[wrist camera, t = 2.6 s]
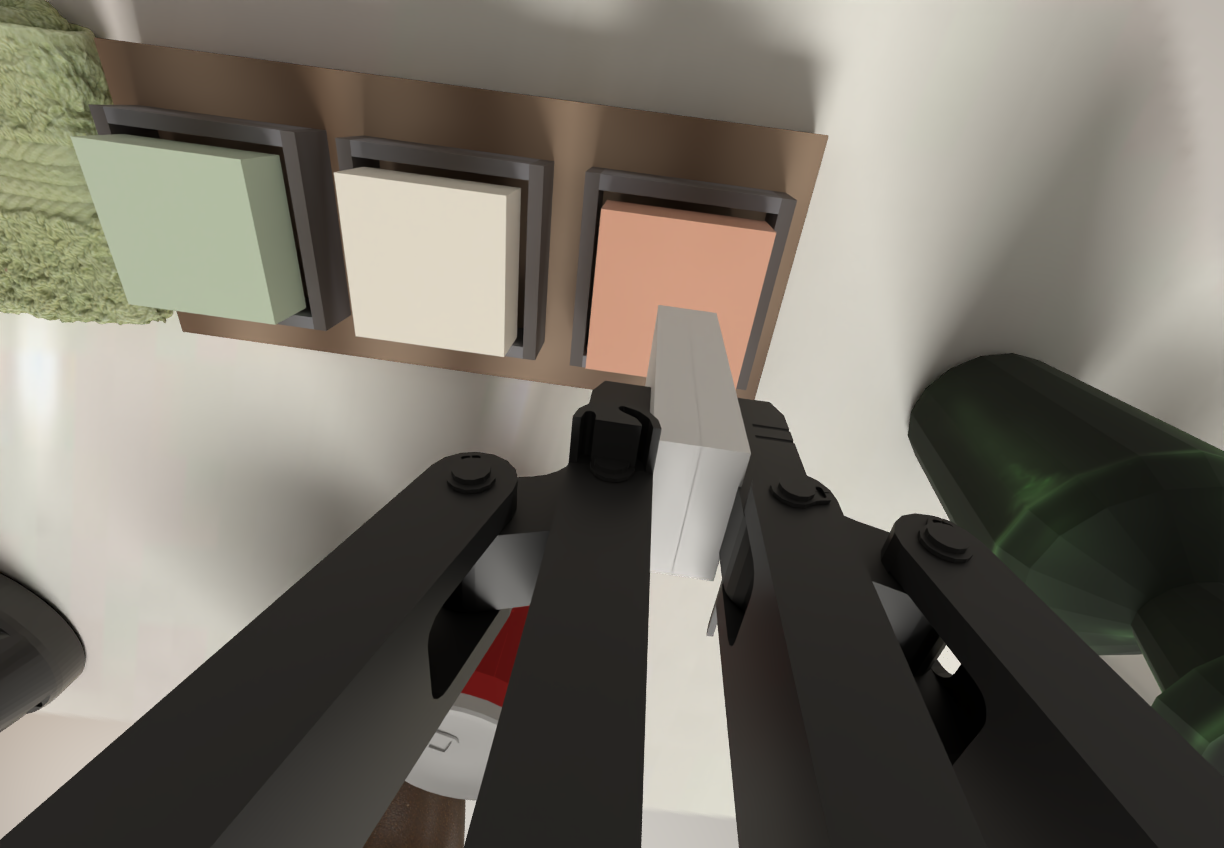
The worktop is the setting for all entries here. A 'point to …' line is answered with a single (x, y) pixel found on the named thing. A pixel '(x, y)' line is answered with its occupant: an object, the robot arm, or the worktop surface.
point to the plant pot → (420, 821)
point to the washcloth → (53, 174)
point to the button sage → (195, 226)
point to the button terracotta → (672, 279)
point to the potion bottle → (1091, 519)
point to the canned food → (471, 721)
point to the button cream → (431, 259)
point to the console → (473, 151)
